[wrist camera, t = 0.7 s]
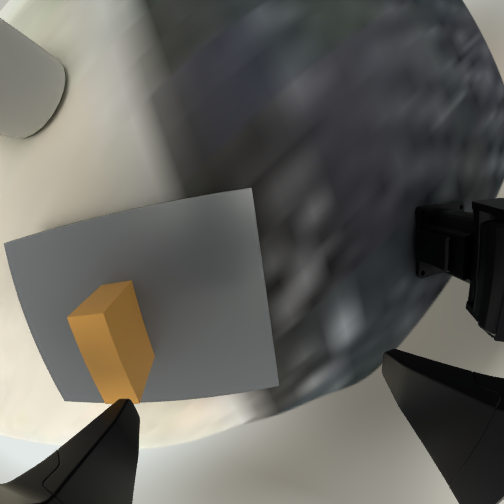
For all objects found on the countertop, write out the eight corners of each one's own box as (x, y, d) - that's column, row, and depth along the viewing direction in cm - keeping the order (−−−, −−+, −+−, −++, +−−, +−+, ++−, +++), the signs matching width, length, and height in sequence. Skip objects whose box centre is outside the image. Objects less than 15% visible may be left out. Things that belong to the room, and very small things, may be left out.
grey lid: (249, 187, 16) (265, 187, 10) (276, 377, 18) (294, 433, 13) (12, 240, 14) (-40, 259, 9) (69, 393, 17) (43, 438, 12)
